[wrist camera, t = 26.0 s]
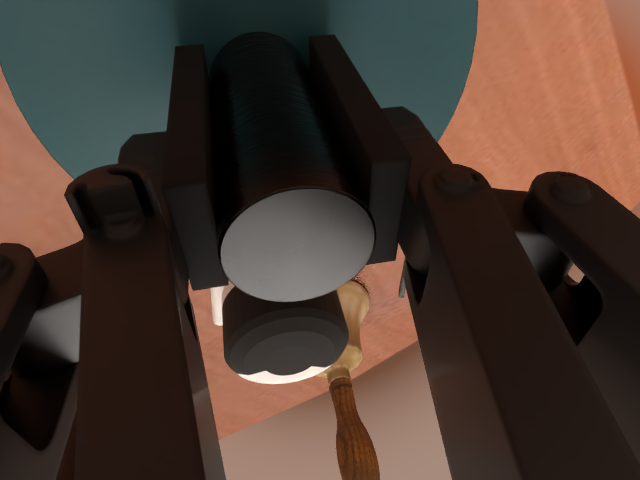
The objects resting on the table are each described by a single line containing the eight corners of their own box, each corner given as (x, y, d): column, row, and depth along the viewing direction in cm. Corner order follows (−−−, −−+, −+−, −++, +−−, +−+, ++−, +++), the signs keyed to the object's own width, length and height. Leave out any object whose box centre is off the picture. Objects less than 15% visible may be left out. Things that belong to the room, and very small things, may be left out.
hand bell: (286, 346, 41) (320, 546, 30) (263, 292, 35) (294, 516, 24) (372, 322, 41) (438, 513, 30) (363, 265, 36) (441, 475, 24)
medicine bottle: (204, 156, 26) (207, 322, 18) (322, 155, 28) (377, 306, 19) (211, 244, 31) (216, 408, 22) (311, 239, 32) (351, 390, 24)
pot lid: (-141, -260, 9) (-977, -452, 2) (520, -248, 11) (964, -341, 4) (104, 250, 18) (56, 467, 12) (425, 207, 20) (524, 375, 14)
